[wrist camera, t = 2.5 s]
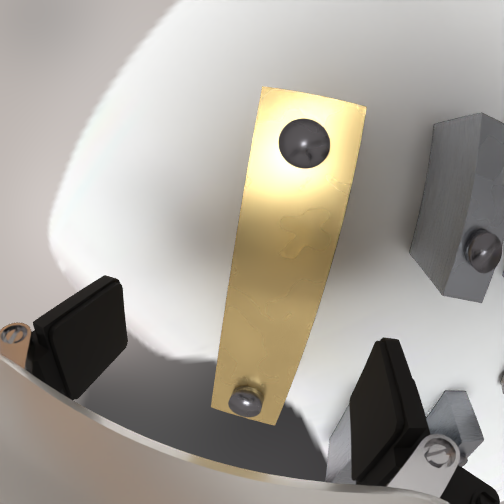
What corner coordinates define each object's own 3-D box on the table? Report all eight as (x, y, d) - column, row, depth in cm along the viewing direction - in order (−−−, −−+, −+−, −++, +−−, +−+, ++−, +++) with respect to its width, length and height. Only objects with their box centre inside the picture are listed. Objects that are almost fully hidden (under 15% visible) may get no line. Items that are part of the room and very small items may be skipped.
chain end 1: (329, 439, 21) (323, 496, 15) (359, 383, 18) (363, 450, 13) (424, 444, 19) (432, 494, 14) (465, 391, 17) (486, 445, 11)
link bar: (352, 122, 14) (370, 103, 8) (286, 373, 20) (272, 435, 14) (280, 107, 14) (257, 81, 9) (233, 359, 20) (206, 416, 15)
